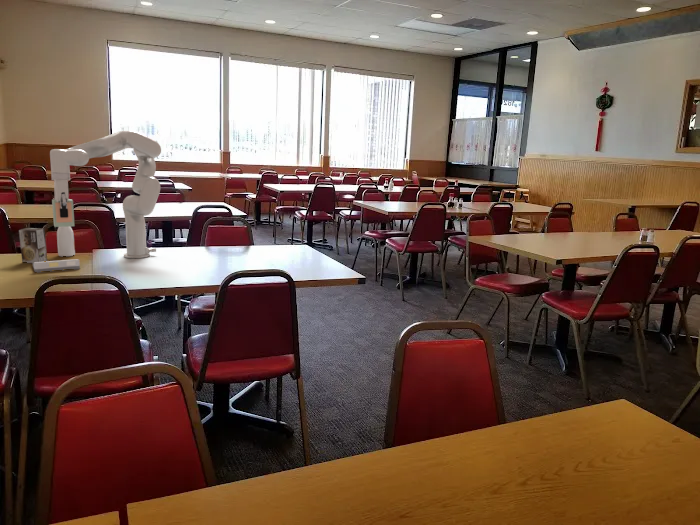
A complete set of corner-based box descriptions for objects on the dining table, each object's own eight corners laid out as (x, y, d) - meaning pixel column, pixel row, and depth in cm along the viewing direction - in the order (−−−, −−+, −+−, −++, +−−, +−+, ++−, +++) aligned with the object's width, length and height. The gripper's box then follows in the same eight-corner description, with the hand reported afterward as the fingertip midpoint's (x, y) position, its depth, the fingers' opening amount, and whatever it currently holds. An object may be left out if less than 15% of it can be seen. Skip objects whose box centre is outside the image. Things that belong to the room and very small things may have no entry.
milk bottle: (74, 256, 277) (71, 217, 273) (57, 257, 274) (54, 217, 270) (75, 253, 284) (73, 215, 280) (59, 254, 281) (56, 216, 277)
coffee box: (48, 261, 265) (45, 228, 262) (39, 263, 259) (36, 230, 255) (30, 260, 266) (27, 227, 262) (21, 262, 259) (18, 229, 256)
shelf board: (75, 262, 263) (74, 253, 262) (79, 269, 251) (79, 259, 250) (32, 266, 253) (31, 256, 252) (35, 272, 241) (34, 262, 240)
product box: (53, 225, 251) (52, 199, 248) (73, 224, 255) (71, 199, 253) (55, 226, 247) (53, 200, 244) (74, 226, 251) (73, 200, 249)
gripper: (49, 175, 251) (52, 214, 255) (53, 177, 237) (56, 219, 241) (67, 175, 255) (70, 214, 259) (72, 178, 242) (75, 218, 245)
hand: (63, 216), depth 250 cm, fingers closed on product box, 5 cm apart
